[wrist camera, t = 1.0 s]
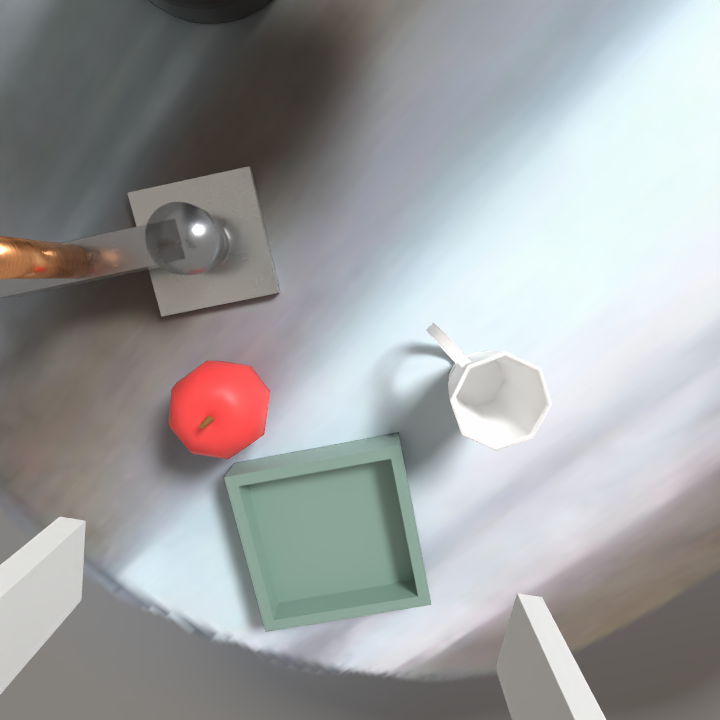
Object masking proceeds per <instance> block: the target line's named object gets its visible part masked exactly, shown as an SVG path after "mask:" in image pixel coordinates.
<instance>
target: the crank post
mask: <svg viewBox="0 0 720 720" xmlns="http://www.w3.org/2000/svg"><path fill="white" fill-rule="evenodd" d="M127 194H128V197H129V201H130V204H131V208H132V212H133V215H134V219H135V223H136V226H137V227H138V226H142V225H147V222H148V220H149V218H150V217H151V215H152V214H153V213H154V211H155V210H157V209H158V208H159V207H161V206H162V205H165V204H167V203H170V202H185V203H189V204H192V205H194V206H196V207H199V208H201V209H203V210H205V211H207V212H209V213H210V214H211V215H212V216H213V217H214V218H215V219H216V220H217V221H218V223H219V224H220V226H221V228H222V231H223V234H224V242H225V244H224V251H223V254H222V257H221V259H220V261H219V262H218V264H217V265H216V266H215V267H214V268H212V269H211V270H210V271H208V272H206V273H203V274H199V275H178V274H173V273H170V272H168V271H166V270H164V269H163V268H161V267H159V268H154V269H150V270H149V273H150V277H151V280H152V284H153V288H154V291H155V295H156V298H157V302H158V306H159V309H160V313H161V316H167V315H172V314H177V313H182V312H187V311H192V310H197V309H202V308H207V307H212V306H216V305H221V304H226V303H231V302H236V301H241V300H246V299H251V298H256V297H261V296H266V295H271V294H276V293H280V290H279V285H278V281H277V277H276V272H275V268H274V263H273V259H272V255H271V250H270V246H269V241H268V237H267V233H266V228H265V224H264V220H263V215H262V211H261V206H260V202H259V198H258V193H257V189H256V184H255V180H254V176H253V171H252V168H251V167H250V166H248V167H244V168H239V169H234V170H230V171H225V172H221V173H216V174H211V175H207V176H202V177H198V178H193V179H188V180H184V181H179V182H175V183H170V184H165V185H161V186H156V187H152V188H147V189H142V190H138V191H133V192H129V193H127Z"/></svg>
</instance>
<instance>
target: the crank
mask: <svg viewBox="0 0 720 720" xmlns="http://www.w3.org/2000/svg"><path fill="white" fill-rule="evenodd" d="M224 244H225V242H224V234H223V231H222V228H221V226H220V224H219V223H218V221H217V220H216V219H215V218H214V217H213V216H212V215H211V214H210V213H209V212H207V211H205V210H203V209H201V208H199V207H196V206H194V205H192V204H189V203H185V202H170V203H167V204H165V205H162V206H161V207H159V208H158V209H157V210H155V211H154V213H153V214H152V215H151V217H150V218H149V220H148V222H147V225H142V226H138V227H133V228H128V229H124V230H119V231H114V232H109V233H105V234H100V235H95V236H91V237H86V238H81V239H77V240H72V241H67V242H62V243H57V242H48V241H39V240H30V239H21V238H12V237H3V236H0V297H17V296H25V295H29V294H34V293H39V292H44V291H49V290H53V289H58V288H63V287H68V286H73V285H77V284H82V283H87V282H92V281H97V280H102V279H106V278H111V277H116V276H121V275H126V274H130V273H135V272H140V271H145V270H150V269H154V268H159V267H161V268H163V269H164V270H166V271H168V272H170V273H173V274H178V275H199V274H203V273H206V272H208V271H210V270H211V269H212V268H214V267H215V266H216V265H217V264H218V262H219V261H220V259H221V257H222V254H223V251H224Z"/></svg>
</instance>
